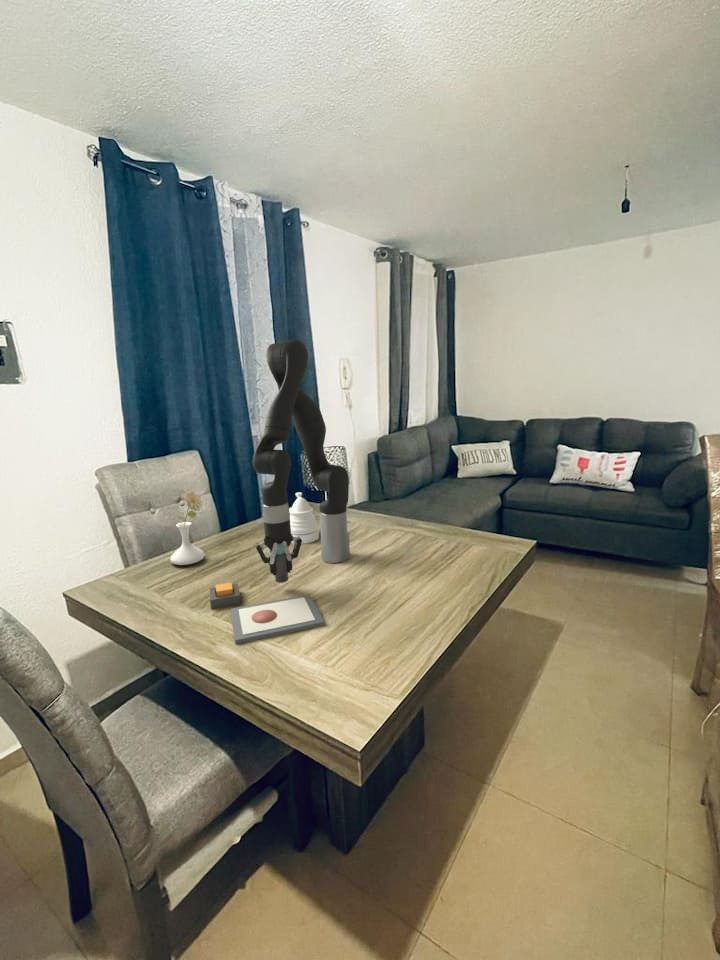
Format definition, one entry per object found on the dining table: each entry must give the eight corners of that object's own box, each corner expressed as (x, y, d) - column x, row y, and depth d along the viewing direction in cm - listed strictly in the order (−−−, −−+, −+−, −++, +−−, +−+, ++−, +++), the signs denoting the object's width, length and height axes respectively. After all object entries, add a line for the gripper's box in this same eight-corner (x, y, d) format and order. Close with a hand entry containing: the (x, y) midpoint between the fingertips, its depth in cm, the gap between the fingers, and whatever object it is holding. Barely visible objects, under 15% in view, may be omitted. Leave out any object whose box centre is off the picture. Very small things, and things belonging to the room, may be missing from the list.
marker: (287, 575, 134) (284, 538, 132) (290, 581, 131) (286, 543, 128) (274, 578, 133) (270, 540, 130) (276, 583, 129) (273, 545, 127)
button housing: (238, 591, 132) (237, 583, 132) (240, 603, 125) (240, 595, 124) (210, 596, 130) (209, 588, 129) (211, 608, 122) (210, 600, 122)
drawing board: (309, 597, 127) (309, 592, 127) (324, 625, 113) (324, 620, 112) (230, 612, 120) (230, 607, 120) (235, 644, 105) (234, 638, 105)
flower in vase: (184, 570, 148) (176, 498, 142) (163, 564, 154) (154, 494, 148) (215, 557, 159) (208, 489, 153) (195, 551, 165) (187, 486, 159)
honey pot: (282, 535, 179) (279, 492, 175) (312, 530, 185) (310, 488, 181) (291, 545, 168) (288, 500, 164) (323, 540, 173) (321, 495, 169)
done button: (232, 588, 130) (231, 582, 129) (233, 595, 125) (232, 588, 125) (216, 591, 128) (215, 585, 128) (216, 598, 124) (216, 591, 124)
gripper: (298, 511, 133) (301, 564, 137) (250, 517, 128) (255, 572, 132) (303, 518, 126) (307, 573, 130) (253, 525, 122) (258, 582, 126)
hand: (281, 572), depth 131 cm, fingers closed on marker, 3 cm apart
